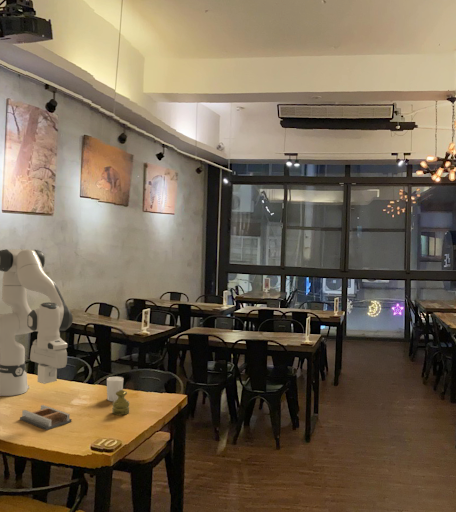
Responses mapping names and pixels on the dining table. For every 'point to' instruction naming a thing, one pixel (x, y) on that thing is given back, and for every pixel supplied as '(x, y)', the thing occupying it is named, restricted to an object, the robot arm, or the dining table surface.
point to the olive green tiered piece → (120, 404)
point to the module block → (45, 374)
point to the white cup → (114, 387)
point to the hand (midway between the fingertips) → (47, 375)
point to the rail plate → (46, 417)
